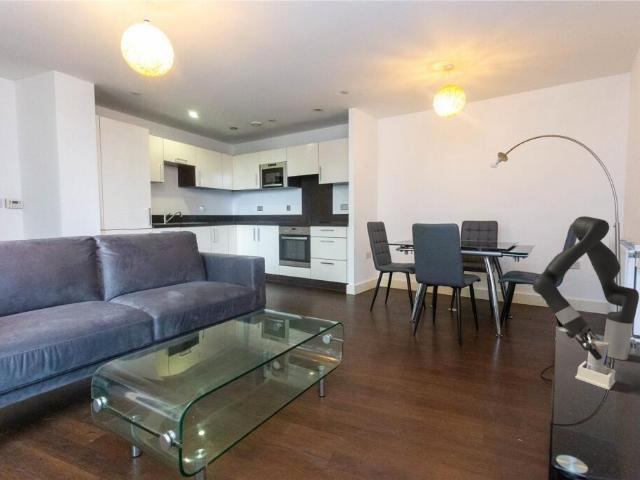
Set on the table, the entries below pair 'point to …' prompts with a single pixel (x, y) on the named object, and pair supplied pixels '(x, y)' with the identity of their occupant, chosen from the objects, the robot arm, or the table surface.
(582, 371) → the can holder
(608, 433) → the table surface
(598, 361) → the beverage can
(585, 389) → the table surface
